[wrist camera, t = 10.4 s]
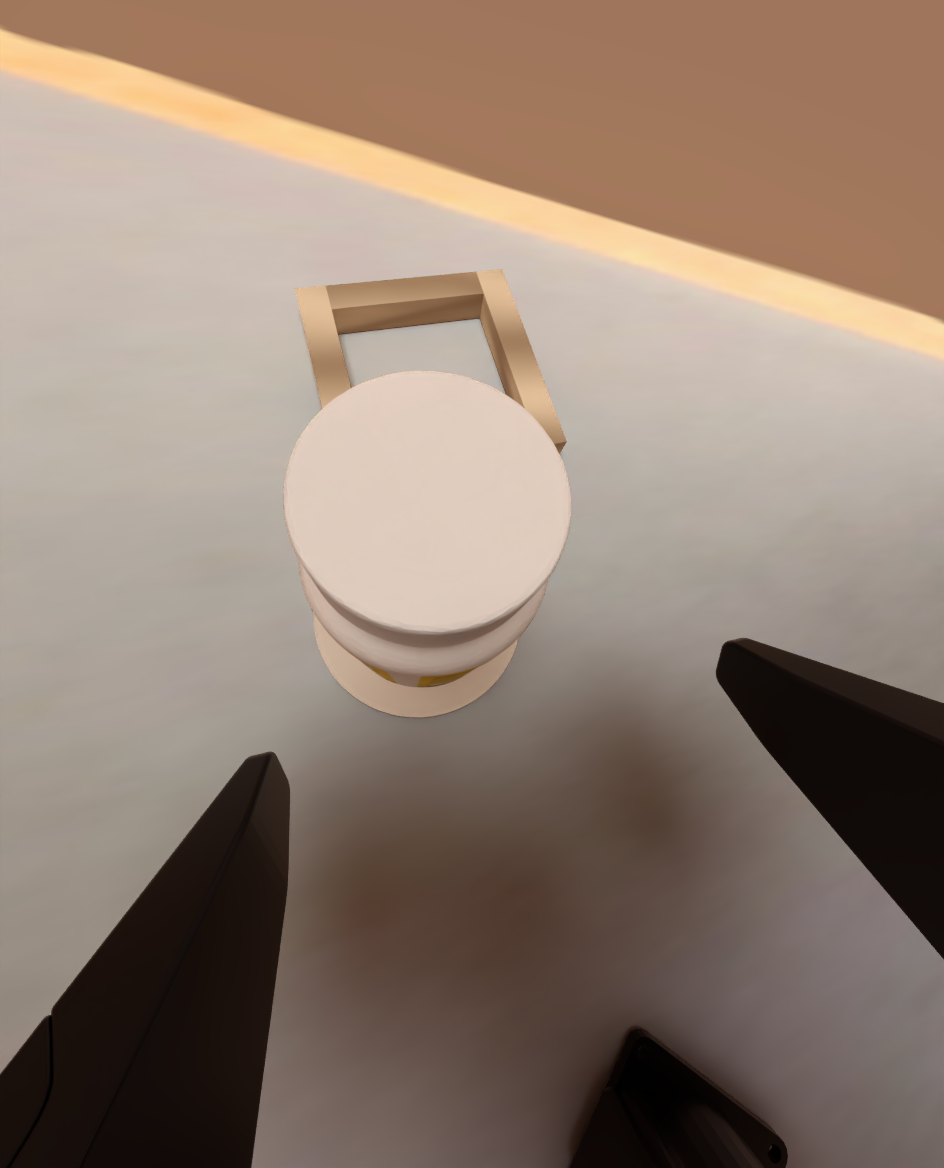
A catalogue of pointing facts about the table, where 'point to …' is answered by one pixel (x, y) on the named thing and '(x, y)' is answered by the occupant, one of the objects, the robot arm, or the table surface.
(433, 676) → the supplement bottle
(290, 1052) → the table surface
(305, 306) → the pocket frame
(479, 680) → the coaster
